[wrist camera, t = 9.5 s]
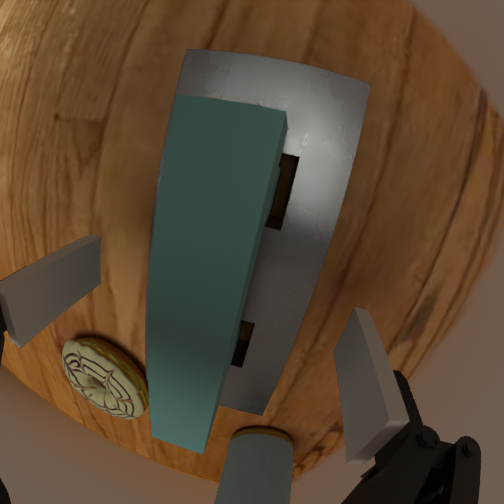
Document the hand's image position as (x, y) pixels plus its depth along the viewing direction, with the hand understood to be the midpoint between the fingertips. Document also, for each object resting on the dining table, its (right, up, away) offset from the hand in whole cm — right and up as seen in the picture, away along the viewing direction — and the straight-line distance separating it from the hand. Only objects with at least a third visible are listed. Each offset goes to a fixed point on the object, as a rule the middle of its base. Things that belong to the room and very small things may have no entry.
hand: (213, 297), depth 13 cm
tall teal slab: (+1, +2, +6) cm, 6 cm away
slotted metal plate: (+1, +2, +6) cm, 6 cm away
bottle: (+3, -19, +13) cm, 23 cm away
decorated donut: (-13, -11, +13) cm, 21 cm away
